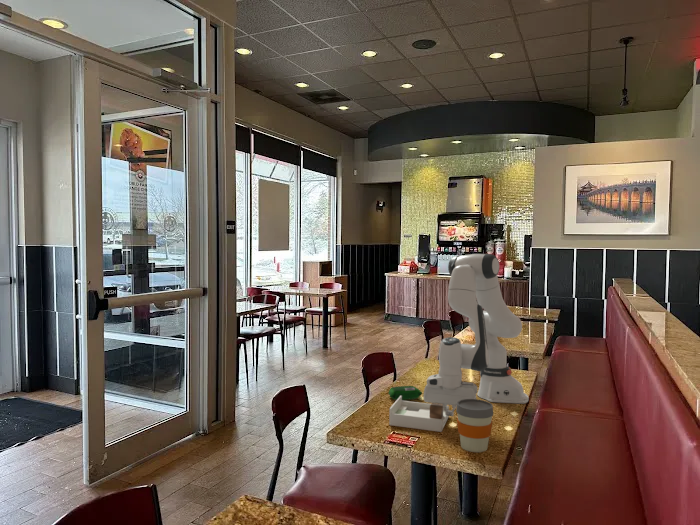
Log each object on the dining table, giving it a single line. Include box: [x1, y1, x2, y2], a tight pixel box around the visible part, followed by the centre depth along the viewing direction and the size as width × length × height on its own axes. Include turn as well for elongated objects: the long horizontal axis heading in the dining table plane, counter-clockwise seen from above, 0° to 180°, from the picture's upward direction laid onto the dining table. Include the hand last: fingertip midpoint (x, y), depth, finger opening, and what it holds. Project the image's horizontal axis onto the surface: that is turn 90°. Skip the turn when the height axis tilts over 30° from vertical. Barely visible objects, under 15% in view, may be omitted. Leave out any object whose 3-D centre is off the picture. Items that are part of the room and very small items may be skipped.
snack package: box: [388, 385, 423, 401], centre depth 232 cm, size 7×16×5 cm, turn 100°
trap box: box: [388, 396, 450, 433], centre depth 203 cm, size 20×17×6 cm
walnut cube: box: [430, 403, 443, 419], centre depth 201 cm, size 4×4×4 cm
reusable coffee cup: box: [455, 398, 494, 453], centre depth 178 cm, size 13×13×15 cm
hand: (449, 415), depth 199 cm, fingers closed
